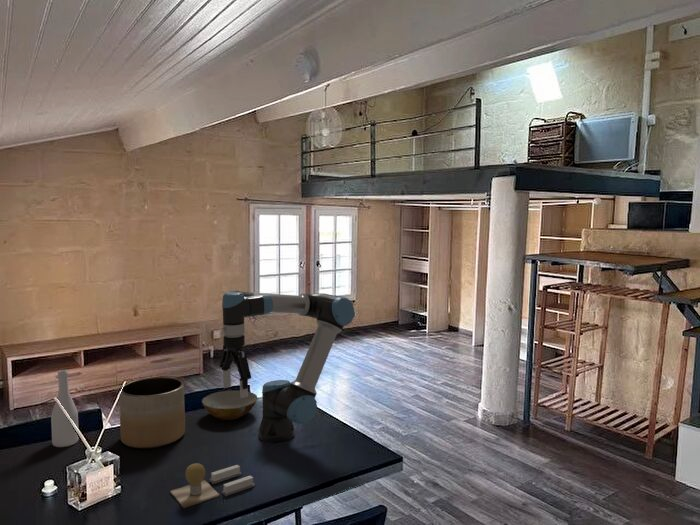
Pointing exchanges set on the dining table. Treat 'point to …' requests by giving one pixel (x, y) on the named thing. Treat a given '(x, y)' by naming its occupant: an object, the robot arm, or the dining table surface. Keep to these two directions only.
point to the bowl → (229, 404)
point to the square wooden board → (188, 499)
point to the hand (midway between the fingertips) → (235, 392)
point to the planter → (152, 412)
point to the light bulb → (195, 477)
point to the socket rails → (234, 485)
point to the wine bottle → (60, 424)
